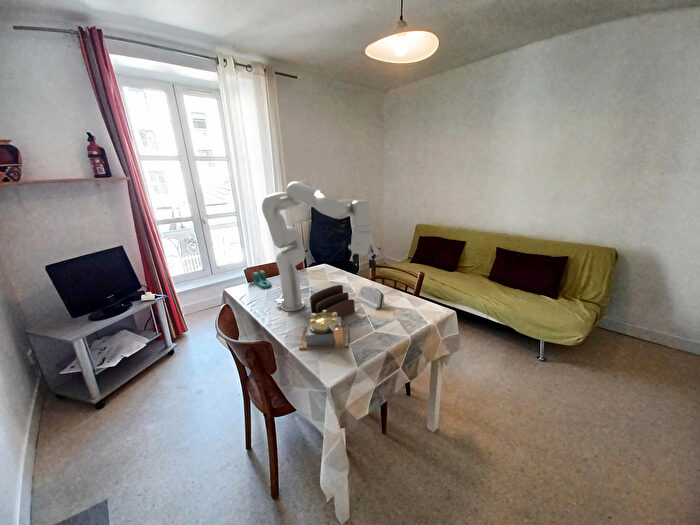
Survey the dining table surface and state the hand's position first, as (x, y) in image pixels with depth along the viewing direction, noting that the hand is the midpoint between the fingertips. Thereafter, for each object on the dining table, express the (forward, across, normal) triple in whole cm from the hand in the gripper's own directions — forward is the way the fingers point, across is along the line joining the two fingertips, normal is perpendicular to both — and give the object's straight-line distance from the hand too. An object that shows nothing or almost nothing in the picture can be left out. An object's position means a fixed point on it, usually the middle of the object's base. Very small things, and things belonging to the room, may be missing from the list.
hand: (363, 265), depth 126 cm
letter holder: (+27, -14, -8) cm, 32 cm away
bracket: (+27, -82, -8) cm, 87 cm away
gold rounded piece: (+24, +2, -25) cm, 35 cm away
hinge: (+27, -9, +15) cm, 32 cm away
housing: (+27, -2, -24) cm, 36 cm away
